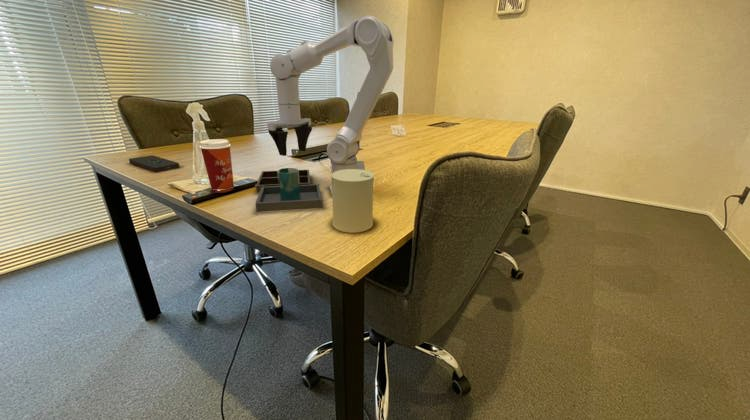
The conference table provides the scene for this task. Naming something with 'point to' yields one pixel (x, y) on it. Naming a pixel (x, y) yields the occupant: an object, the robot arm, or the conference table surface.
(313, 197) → the tray
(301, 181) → the cup rack
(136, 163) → the smart home device
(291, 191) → the teal cup
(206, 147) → the paper cup
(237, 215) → the conference table surface
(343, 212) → the can
